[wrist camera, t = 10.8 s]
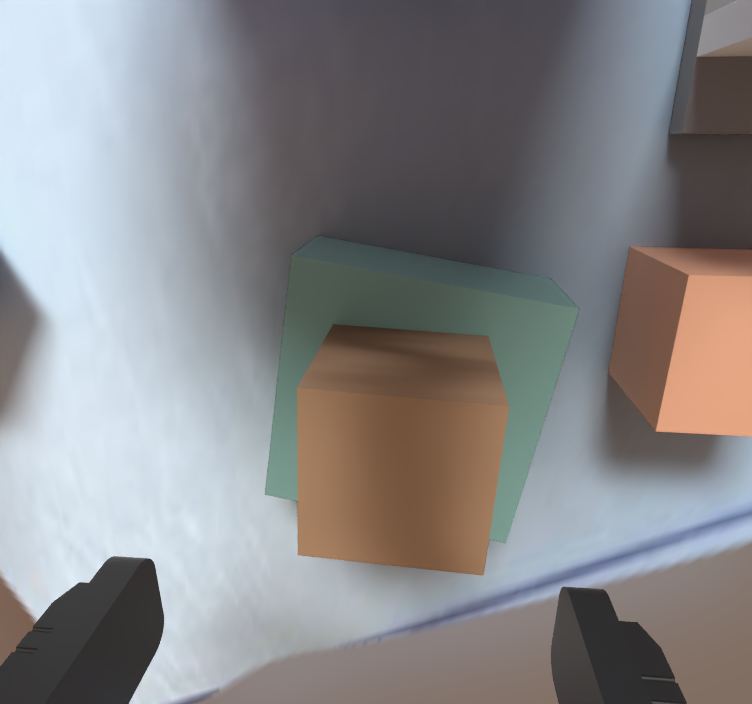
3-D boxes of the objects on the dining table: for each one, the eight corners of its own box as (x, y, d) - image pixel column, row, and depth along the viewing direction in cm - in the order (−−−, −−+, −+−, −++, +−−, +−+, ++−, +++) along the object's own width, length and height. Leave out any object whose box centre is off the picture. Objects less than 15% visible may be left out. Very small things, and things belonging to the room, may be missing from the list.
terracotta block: (607, 371, 24) (655, 431, 19) (628, 246, 22) (688, 274, 17) (738, 376, 23) (825, 440, 18) (772, 249, 21) (879, 280, 16)
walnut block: (330, 456, 21) (297, 555, 16) (332, 324, 19) (297, 388, 14) (471, 470, 21) (483, 575, 16) (488, 336, 19) (508, 406, 14)
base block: (293, 435, 27) (265, 494, 22) (319, 234, 23) (290, 255, 19) (492, 474, 27) (505, 543, 22) (549, 276, 23) (579, 308, 18)
